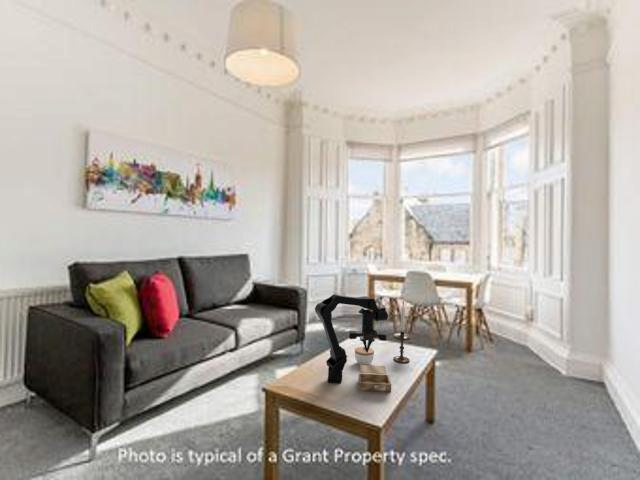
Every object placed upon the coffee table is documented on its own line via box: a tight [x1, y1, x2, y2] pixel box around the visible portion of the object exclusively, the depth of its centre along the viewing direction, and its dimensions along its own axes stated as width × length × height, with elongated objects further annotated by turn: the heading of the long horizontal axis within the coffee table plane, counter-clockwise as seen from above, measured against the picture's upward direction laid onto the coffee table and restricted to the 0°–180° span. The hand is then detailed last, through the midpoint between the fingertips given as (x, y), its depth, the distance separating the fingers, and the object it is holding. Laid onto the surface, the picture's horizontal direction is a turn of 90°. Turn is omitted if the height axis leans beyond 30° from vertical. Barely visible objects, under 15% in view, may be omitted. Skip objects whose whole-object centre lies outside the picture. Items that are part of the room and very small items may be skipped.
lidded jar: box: [354, 346, 375, 366], centre depth 195 cm, size 11×11×9 cm
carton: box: [357, 372, 392, 393], centre depth 167 cm, size 15×11×4 cm
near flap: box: [362, 382, 392, 386], centre depth 158 cm, size 12×5×1 cm, turn 87°
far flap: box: [359, 364, 387, 375], centre depth 175 cm, size 12×5×1 cm, turn 87°
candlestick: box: [392, 300, 413, 364], centre depth 201 cm, size 11×11×35 cm
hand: (366, 352), depth 178 cm, fingers closed
